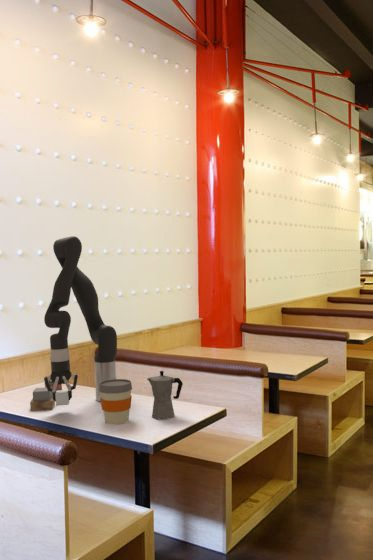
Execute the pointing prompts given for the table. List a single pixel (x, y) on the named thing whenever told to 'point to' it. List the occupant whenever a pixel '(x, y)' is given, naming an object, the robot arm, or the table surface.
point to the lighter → (59, 386)
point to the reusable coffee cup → (116, 400)
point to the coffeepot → (163, 395)
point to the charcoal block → (42, 394)
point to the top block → (62, 397)
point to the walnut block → (42, 405)
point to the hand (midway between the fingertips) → (62, 400)
